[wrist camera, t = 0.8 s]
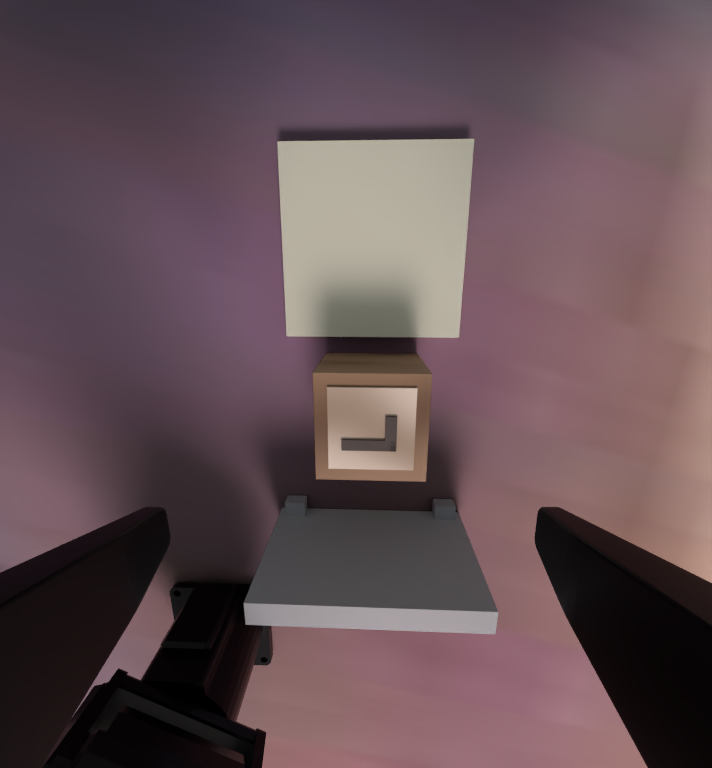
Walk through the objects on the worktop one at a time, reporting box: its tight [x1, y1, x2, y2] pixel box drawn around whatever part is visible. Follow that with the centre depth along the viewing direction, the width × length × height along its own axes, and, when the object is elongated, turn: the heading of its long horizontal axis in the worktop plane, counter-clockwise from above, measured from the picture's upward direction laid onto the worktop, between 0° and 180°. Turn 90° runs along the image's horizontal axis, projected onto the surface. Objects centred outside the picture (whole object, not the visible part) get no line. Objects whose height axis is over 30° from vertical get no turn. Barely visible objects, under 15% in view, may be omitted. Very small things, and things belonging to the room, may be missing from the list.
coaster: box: [277, 139, 474, 338], centre depth 18 cm, size 9×9×1 cm
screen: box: [244, 495, 498, 634], centre depth 19 cm, size 3×11×7 cm, turn 90°
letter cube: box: [313, 353, 432, 482], centre depth 18 cm, size 5×5×5 cm
